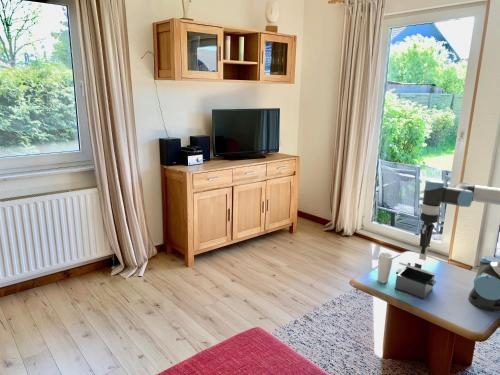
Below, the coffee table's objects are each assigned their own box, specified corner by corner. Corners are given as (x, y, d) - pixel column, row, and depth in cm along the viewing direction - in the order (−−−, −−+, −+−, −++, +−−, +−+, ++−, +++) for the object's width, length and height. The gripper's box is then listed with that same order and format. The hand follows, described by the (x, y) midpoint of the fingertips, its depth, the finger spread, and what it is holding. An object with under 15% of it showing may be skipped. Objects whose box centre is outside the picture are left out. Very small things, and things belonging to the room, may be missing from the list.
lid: (434, 274, 186) (436, 269, 186) (428, 273, 175) (430, 267, 175) (406, 265, 195) (408, 260, 195) (399, 263, 184) (400, 258, 184)
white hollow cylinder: (390, 285, 191) (394, 258, 187) (376, 283, 192) (380, 257, 188) (388, 278, 197) (391, 253, 194) (375, 277, 199) (378, 251, 195)
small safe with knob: (436, 290, 186) (439, 276, 184) (427, 301, 176) (430, 286, 174) (401, 278, 198) (403, 265, 196) (390, 287, 188) (392, 273, 186)
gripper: (426, 208, 179) (419, 252, 185) (416, 213, 170) (409, 260, 176) (442, 211, 174) (434, 257, 180) (434, 217, 165) (426, 265, 171)
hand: (422, 259), depth 178 cm, fingers closed
